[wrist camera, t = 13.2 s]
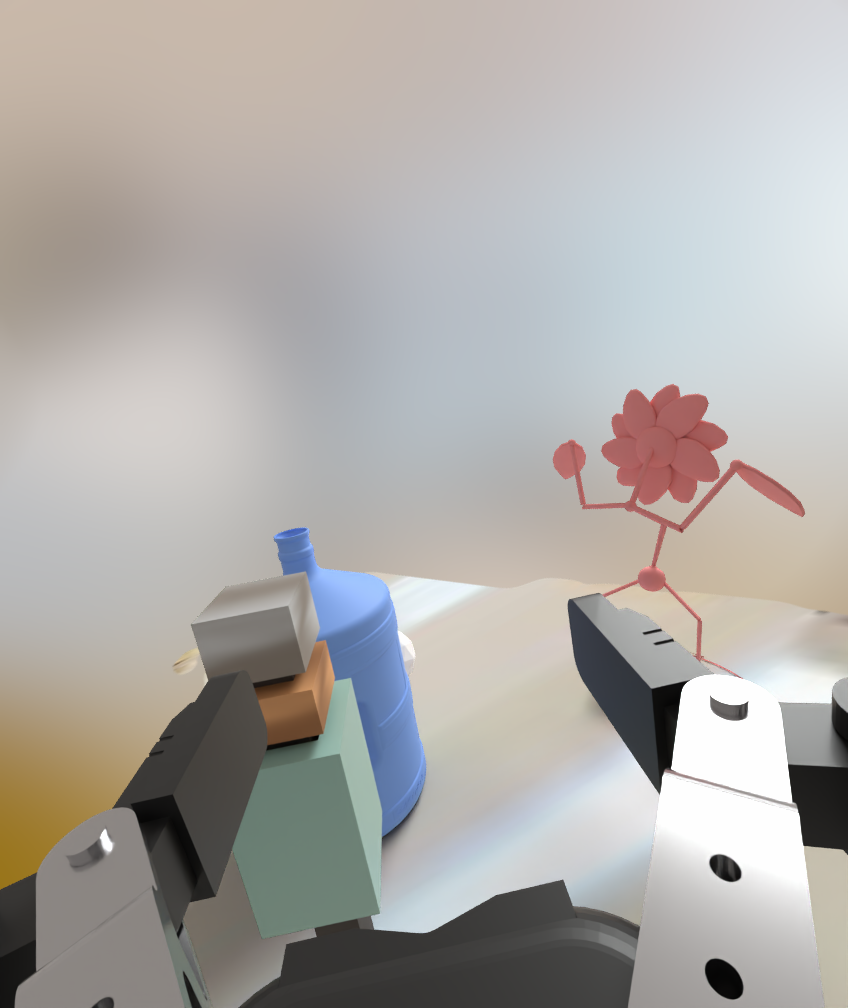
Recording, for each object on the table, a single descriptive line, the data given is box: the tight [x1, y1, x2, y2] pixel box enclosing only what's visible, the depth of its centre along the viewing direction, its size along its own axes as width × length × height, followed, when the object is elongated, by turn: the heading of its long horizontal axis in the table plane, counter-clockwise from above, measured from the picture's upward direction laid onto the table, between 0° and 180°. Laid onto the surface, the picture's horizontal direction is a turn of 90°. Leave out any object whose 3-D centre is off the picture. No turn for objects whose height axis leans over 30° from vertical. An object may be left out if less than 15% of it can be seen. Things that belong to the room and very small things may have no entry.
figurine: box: [553, 384, 805, 680], centre depth 50 cm, size 15×26×35 cm, turn 34°
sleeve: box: [232, 678, 382, 939], centre depth 21 cm, size 5×5×8 cm
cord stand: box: [191, 571, 374, 937], centre depth 22 cm, size 14×14×31 cm
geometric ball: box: [398, 631, 416, 676], centre depth 64 cm, size 8×8×8 cm
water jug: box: [274, 528, 426, 837], centre depth 44 cm, size 16×16×28 cm
